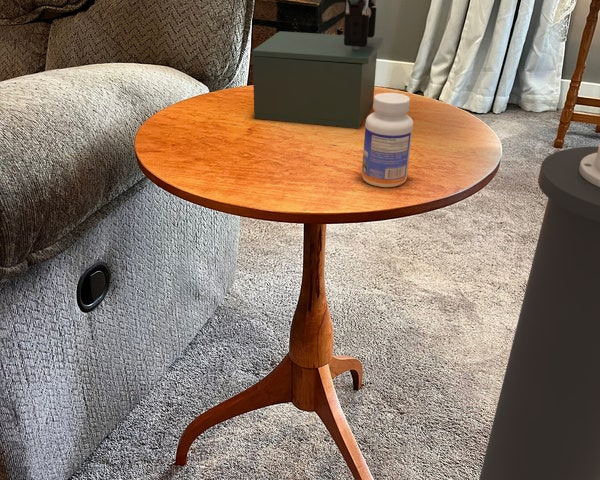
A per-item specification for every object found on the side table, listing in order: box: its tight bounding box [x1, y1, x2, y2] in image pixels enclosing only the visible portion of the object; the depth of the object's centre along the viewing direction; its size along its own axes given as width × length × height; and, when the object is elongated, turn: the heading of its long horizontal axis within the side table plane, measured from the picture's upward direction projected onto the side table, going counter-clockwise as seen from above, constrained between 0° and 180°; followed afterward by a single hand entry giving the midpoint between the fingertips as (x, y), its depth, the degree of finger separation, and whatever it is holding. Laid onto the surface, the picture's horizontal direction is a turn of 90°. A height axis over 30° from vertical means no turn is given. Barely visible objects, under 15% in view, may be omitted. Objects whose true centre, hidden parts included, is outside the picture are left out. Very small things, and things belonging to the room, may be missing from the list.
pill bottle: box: [361, 92, 414, 188], centre depth 74 cm, size 5×5×10 cm
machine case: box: [252, 51, 378, 129], centre depth 97 cm, size 16×14×9 cm
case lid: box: [252, 7, 384, 64], centre depth 93 cm, size 16×14×6 cm
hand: (359, 39), depth 92 cm, fingers closed on case lid, 5 cm apart
